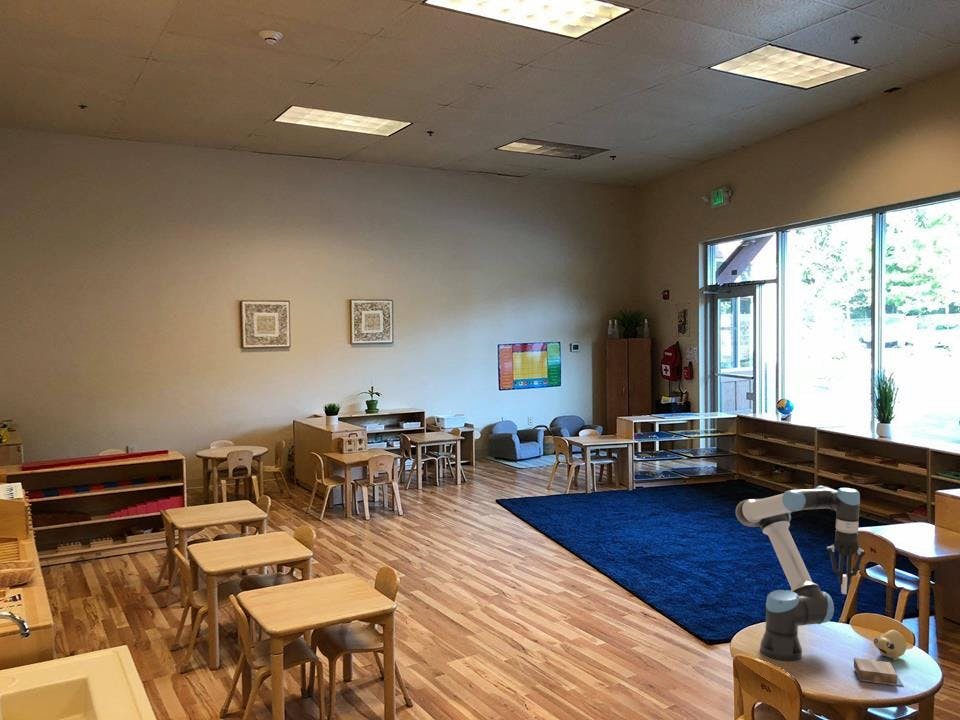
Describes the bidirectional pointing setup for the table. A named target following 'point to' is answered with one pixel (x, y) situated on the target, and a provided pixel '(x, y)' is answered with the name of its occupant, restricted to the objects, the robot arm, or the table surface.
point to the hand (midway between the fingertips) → (843, 592)
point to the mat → (895, 684)
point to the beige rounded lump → (891, 644)
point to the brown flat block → (875, 671)
